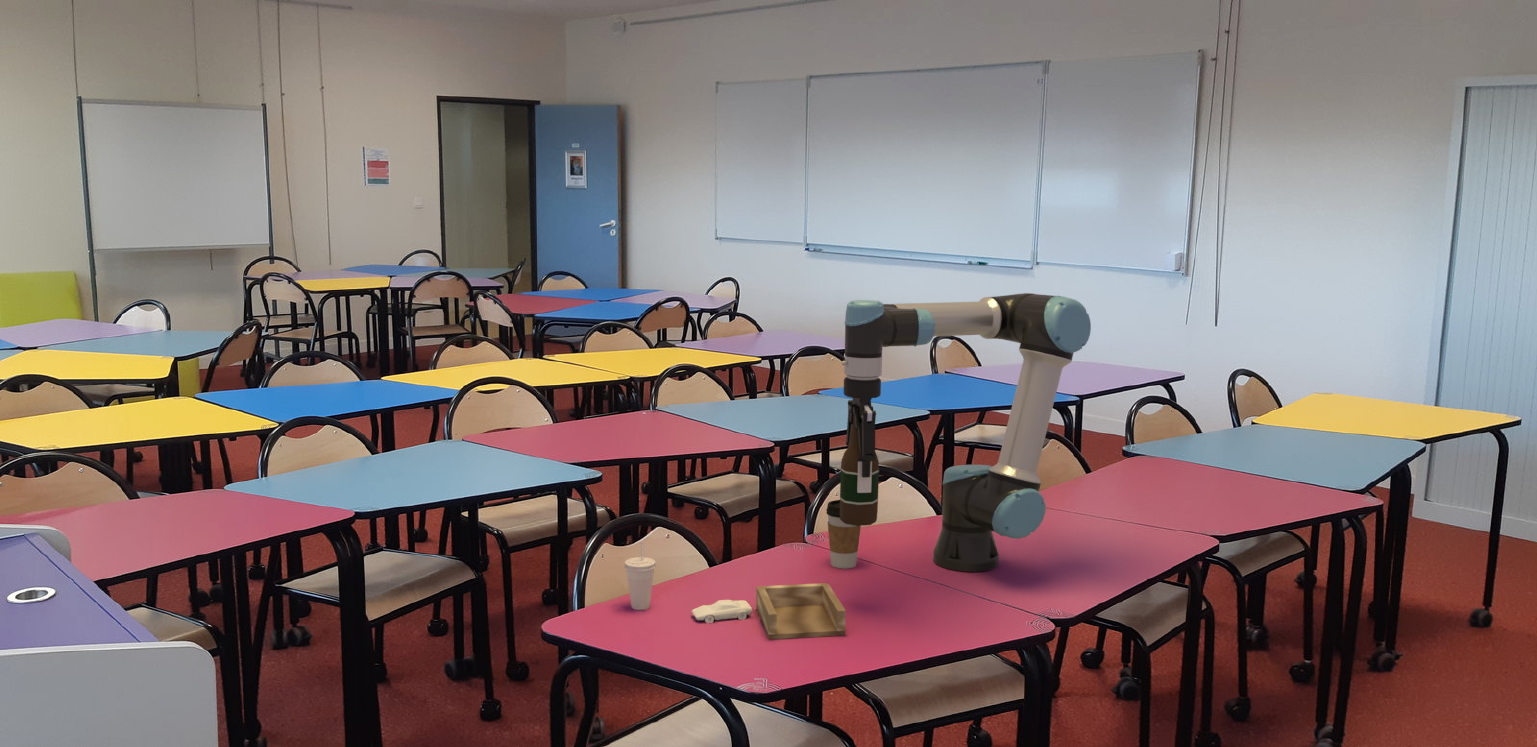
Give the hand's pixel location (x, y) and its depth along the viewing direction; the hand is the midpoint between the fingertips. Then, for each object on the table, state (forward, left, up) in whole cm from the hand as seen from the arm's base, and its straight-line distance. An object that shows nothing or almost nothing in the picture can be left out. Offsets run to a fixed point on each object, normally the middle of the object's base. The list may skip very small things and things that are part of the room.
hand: (859, 487), depth 225 cm
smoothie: (+45, -6, -26) cm, 52 cm away
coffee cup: (-3, -27, -26) cm, 37 cm away
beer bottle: (0, 0, -7) cm, 7 cm away
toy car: (+28, +2, -26) cm, 39 cm away
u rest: (+14, +7, -25) cm, 30 cm away
